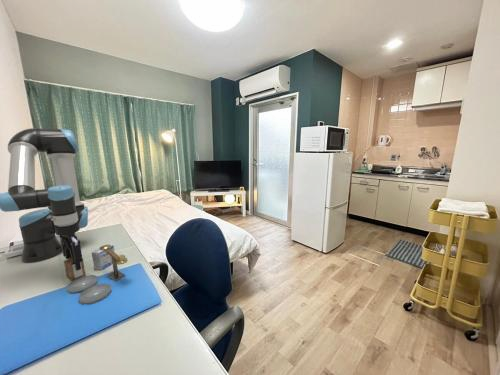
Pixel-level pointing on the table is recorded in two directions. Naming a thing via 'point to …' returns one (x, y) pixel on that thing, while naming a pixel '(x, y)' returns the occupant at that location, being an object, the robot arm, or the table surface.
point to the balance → (115, 262)
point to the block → (70, 269)
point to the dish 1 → (82, 283)
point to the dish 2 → (95, 293)
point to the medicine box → (102, 258)
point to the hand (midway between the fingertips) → (75, 273)
